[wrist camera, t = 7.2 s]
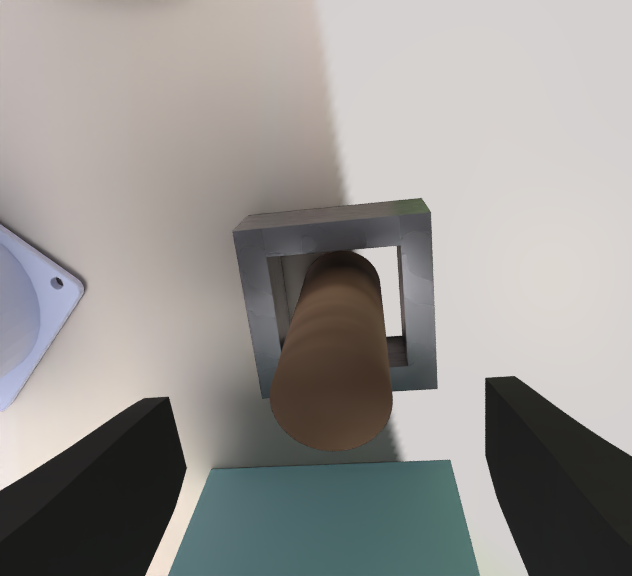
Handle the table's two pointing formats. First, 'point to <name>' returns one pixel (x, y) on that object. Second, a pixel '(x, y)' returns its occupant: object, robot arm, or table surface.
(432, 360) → the gray socket
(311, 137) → the table surface
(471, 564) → the teal block
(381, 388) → the walnut peg
